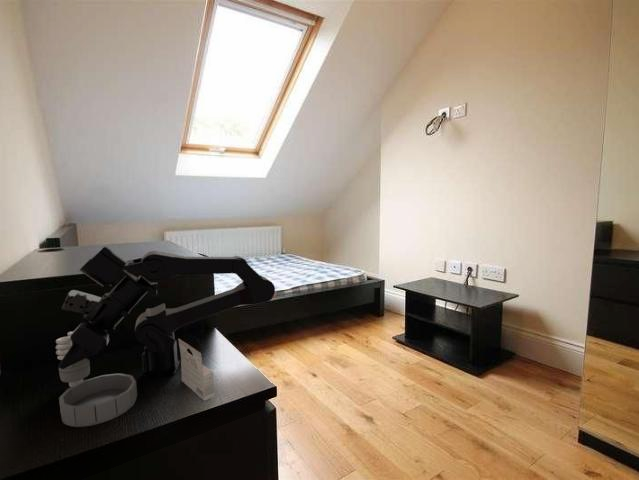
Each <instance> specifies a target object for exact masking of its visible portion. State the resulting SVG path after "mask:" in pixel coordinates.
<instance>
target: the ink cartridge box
mask: <svg viewBox="0 0 639 480" xmlns="http://www.w3.org/2000/svg"><path fill="white" fill-rule="evenodd" d="M177 340H178V341H177V342H178V346H179V353H180V365H181V367H180V368H181V382H182V383H184V385H186V386H187V387H188V388H189V389H190V390H192V391H193V392H194V393H195V394H196V395H197V396H198V397H199V398H200V399H201V400H203V401H204V402H205V401H208V400H211V399H213V398H214V397H215V380H214V379H215V378H214V372H213V371H212V369H209V368H208V367H206V366H205V365H204V364H203V358H202V353H201V352H200V351H199V350H197V349H195V348H194V347H193V346H191V345H190V344H188V343H187V342H185V341H183V340H182V339H180V338H177ZM188 349H189V351H190V352H191V353H192V354H191V353H190V352H189V351H188Z"/></svg>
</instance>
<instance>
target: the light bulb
mask: <svg viewBox="0 0 639 480" xmlns="http://www.w3.org/2000/svg"><path fill="white" fill-rule="evenodd" d="M72 333H73V331H68V332H67V336H63V337H60V338H59V337H58V339H56V340H55V343H56V346H55V349H56V351H55V354H56V355H57V360H60V361H62V360H63V358H64V357H65V355H66V354H67V352H68V351H69V349H70V348H71V346H72V340H71V338H70V337H71V334H72ZM90 372H91V363H90V360H89V359H88V358H85V359H83V360H81V361H79V362H77V363H75V364H73V365H71V366H69V367H67V368H65V369H61V368H59V367H58V373H59V378H60V380H61V381H62V382H63V383H68V386H69V388H70V387H72V386H74V385H76V384H78V383H80V382H82V381H84V379H85V378H87V377H88V376H89V375H90V374H91V373H90Z"/></svg>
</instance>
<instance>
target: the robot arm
mask: <svg viewBox="0 0 639 480" xmlns="http://www.w3.org/2000/svg"><path fill="white" fill-rule="evenodd" d="M79 272H81V273H82V274H84V275H85V276H87V277H88V278H90V279H91V280H92V281H94V282H96V283H97V284H98V285H100V286H101V287H105V286H107V287H108V286H110V287H112V286H113V285H114V284H115V283H116V282H118V281H119V279H120V278H121V277H122V276H123V275H124V277H123V278H122V279H121V280H120V281H119V282H118V283H117V284H116V285H115V286H114V287H113V288H112V289H111V291H109V292H107V293H104V295H102V296H98V295H94V294H91V293H88V292H83V291H80V290H76V289H72V290H70V291H69V292H68V293H67V295H66V297H65V299H64V301H63V305H62V307H61V309H62V310H63V311H67V312H69V311H71V312H75V313H79V314H83V316H82V322H81V323H80V324H79V325H77V327H76V328H75V329H74V330H73V331H72V332H73V333H72V334H71V337H70V338H71V341H72V346H71V348H70V349H69V351H68V352H67V354H66V355H65V357H64V358H63V360H60V363H59V364H58V369H59V368H61V369H65V368H67V367H69V366H71V365H73V364H75V363H77V362H79V361H81V360H83V359H85V358H86V359H88V358H90V357H92V356H94V355H101V353H103V352H104V350H105V349H106V348H107V347H108V344H109V342H110V334H112V333H113V332H114V331H115V330H116V327H117V325H119V323H120V322H122V320H123V319H124V318H125V319H126V318H127V317H128V316H129V315H130V314H131V313H130V312H131V311H132V309H133V308H134V307H135V306H136V305H137V304H138V303H139V302H140V301H141V300H142V299H143V297H145V295H147V293H149V294H150V295H151V296H152V297H157V296H158V290H157V289H158V282H157V281H160V280H165V279H172V278H174V277H178V276H184V275H206V274H208V275H212V274H213V275H215V274H221V275H222V274H227V275H228V274H235V275H237V277H238V278H239V279H240V280H241V282H240V283H239V284H238V285H237V286H235V287H234V288H231V289H228V290H226V291H222V292H219V293H215V294H214V295H211V296H208V297H204V298H201V299H200V300H199V299H198V300H196V301H193V302H191V303H187V304H184V305H181V306H178V307H175V308H166V303H161V304H159V305H157V306H155V307H151V308H146V309H145V311H144V312H142V313H141V314H140V315H138V317H137V319H136V321H135V326H134V332H133V333H134V337H135V339H136V340H137V342H139V344H141V345H142V344H143V345H144V348H143V351H144V352H143V353H142V354H141V358H142V359H141V361H142V370H143V371H142V372H143V373H144V374H143V378H144V379H145V378H155V377H156V378H157V377H163V376H173V375H175V374H176V372H177V371H178V367H179V365H180V364H181V360H178V343H177V339H175V334H174V333H175V332H176V331H177V330H178V329H179V328H182V327H184V326H187V325H189V324H193V323H195V322H198V321H200V320H203V319H205V318H209V317H212V316H215V315H217V314H219V313H222V312H225V311H228V310H231V309H234V308H236V307H239V306H252V305H258V304H260V305H261V304H264V303H268V302H270V301H271V300H273V297H274V295H275V293H276V288H275V287H276V286H275V284H274V283H273V282H272V281H271V280H269V279H267V278H266V277H265V276H263V275H260V274H259V273H258V272H257V271H256V270H255V269H254V268H253V267H252V266H250V264H249V263H248V261H247V260H246V259H244V258H243V257H241V256H239V255H235V256H185V255H178V254H174V253H171V252H170V253H169V252H164V251H157V250H152V251H148V252H146V253H145V254H144V255H142V257H139V258H134V259H132V258H131V259H130V260H125V259H123V258H122V257H120V256H119V255H117V254H116V253H115V251H114V252H113V250H112V249H111V248H110V247H108V246H107V245H105V246H103V247H102V248H101V249H100V251H98V252H97V253H96V254H95V255H93V256H92V257H90V258H89V259H88V261H86V262H85V264H84V265H83V266H81V268H79ZM137 276H138V277H137ZM151 281H154V282H151ZM155 281H156V282H155ZM107 332H108V333H107ZM109 333H110V334H109Z"/></svg>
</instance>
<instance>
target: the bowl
mask: <svg viewBox="0 0 639 480" xmlns="http://www.w3.org/2000/svg"><path fill="white" fill-rule="evenodd" d="M137 389H138V388H137V380H136V379H135V378H134V376H133V375H131V374H125V373H120V372H119V373H110V374H109V373H108V374H103V375H99V376H95V377H92V378H87V379H84V380H83V381H82V382H80V383H78V384H76V385H74V386H72V387H70V386H69V388H66V390H65V391H64V392H63V393H62V394H61V395H60V396H59V397H58V402H59V409H60V410H59V411H60V417H61V422H62V423H63V424H64V425H66V426H69V427H72V428H85V427H92V426H96V425H100V424H103V423H105V422H108V421H111V420H113V419H116V418H118V417H120V416H122V415H124V414H125V413H126V412H127V411H129V410H131V408H132V407H133V406H134V405H135V403H136V401H137V397H138V390H137Z"/></svg>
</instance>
